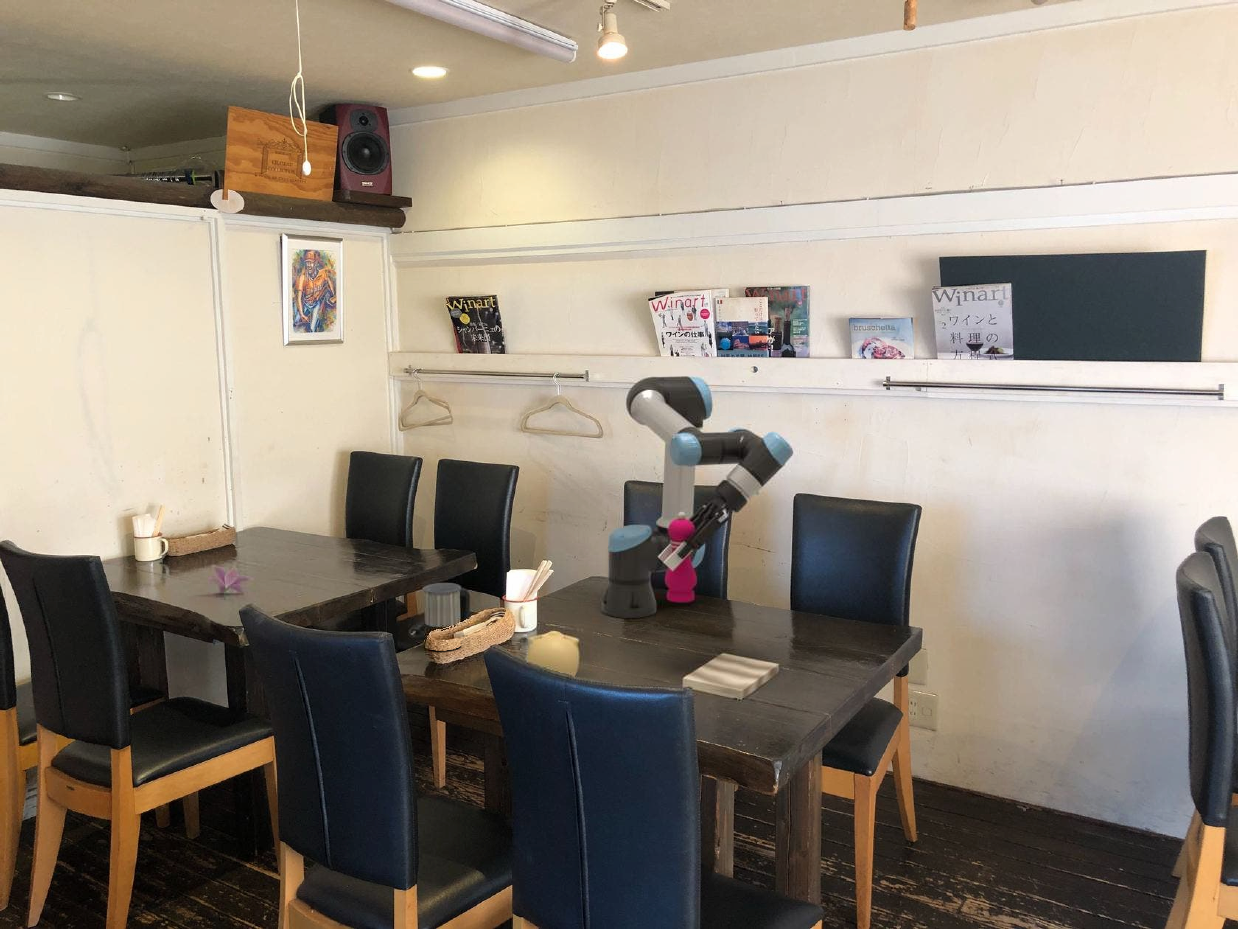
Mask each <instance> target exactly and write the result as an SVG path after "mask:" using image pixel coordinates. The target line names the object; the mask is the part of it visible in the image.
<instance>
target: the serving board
mask: <svg viewBox="0 0 1238 929" xmlns="http://www.w3.org/2000/svg"><path fill="white" fill-rule="evenodd" d="M779 666H780V664H779V663H775V662H774V663H773V662H769V661H764V660H759V659H755V658H750V657H744V656H739V655H735V654H729V653H725V652H724V653H721V654H719V655H718V656H716V657H715V658H713V659H712V660H709V661H708V662H707V663H705V664H703V665H702V666H700V667H699V668H697V669H695V670H694V671H692V672H691V673H688V674H687V675H685V676H684V677H683V678H682V688H685V687H688V686H689V687H692V689H691V690H695V691H699V692H704V693H707V694H712V695H717V696H721V697H725V698H730V699H734V698H737V699H736V700H739V699H740V701H743V700H744V699H745V698H747V697H748V696H750V695H751V694H753V693H754V692H755V691H756V690H757V689H759V688H760V687H762V685H764V684H766V683H767V682H768V681H769V680H771V679H772V678H774V677H775V676H776V675H778V674H779V672H780V671H779V668H780V667H779ZM743 698H744V699H743ZM742 699H743V700H742Z"/></svg>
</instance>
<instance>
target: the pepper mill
mask: <svg viewBox="0 0 1238 929" xmlns="http://www.w3.org/2000/svg"><path fill="white" fill-rule="evenodd" d="M685 517H686V515H685V513H684V512H680V513H679V514H678V518H679V519H676V520H673V521H672V522H671V523H670V525H669V528H668V533H669V536H670V537H671V538H672V540H670V542H671V544H670V546H671V547H672V553H673V552H674V551H675V550H676V549H677V548H678V547H679V546H680V545H681V544H682V543H683V542H685V541H684V539H689V538H690V536H691V535H692V534H693V533H694V531H695V528H694V525H693V523H692V522H691V521H689V520H687V519H685ZM685 543H686V542H685ZM686 544H687V543H686ZM665 572H666V573H665V576H664V583H665V585H666V587H667V588H668V590H667V591H666V599H667V600H668V601H669V602H673V603H690V602H693V601H694V600H695V591H694V590H693V589H694V587H695V586H696V585H697V581H698V580H697V577H698V576H697V574H696V571H695V568H693V565H692V563H691V558H690V554H689V555H688V556H687V557H686V558H685V559H684V560H683V561H682V562H681V563H680V564H679V565H678V566H677V567H676V568H675V569H674V570H673V571H672V570H671V569H670V568H668V570H667V571H665Z"/></svg>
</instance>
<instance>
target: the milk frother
mask: <svg viewBox="0 0 1238 929" xmlns="http://www.w3.org/2000/svg"><path fill="white" fill-rule="evenodd" d="M422 590H423V594H424V595H423V596H424V598H423V599H424V603H423V604H424V621H421V622H418V623H416V624H414V625H412V626H411V627H410V629H409V630H408V636H409V637H410V638H412V639H414V640H421V641H422V640H423V641H424V643H425V642H426V639H427V636H428V635H429V633H430V632H431V631H434V630H436V629H443V628H446V627H449V626H451V625H454V627H455V626H456V625H455V624H457V623H459V622H463V621H464V620H466V619H469V620H470V610H471V609H470V605H471V603H470V602H471V595H470V593H469V591H468V589H466V588H464V587H461V585H460V584H457V583H454V582H440V583H439V582H437V583H431V584H428V585H426V586H423V587H422ZM457 626H458V625H457ZM450 628H452V626H451V627H450ZM446 629H449V628H446ZM446 629H443V630H446ZM424 630H425V631H424ZM443 630H441V631H443ZM423 632H424V634H422V633H423Z"/></svg>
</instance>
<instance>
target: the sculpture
mask: <svg viewBox="0 0 1238 929" xmlns="http://www.w3.org/2000/svg"><path fill="white" fill-rule="evenodd" d="M528 642H529V647H528V649H527V654H526V655H527V656H526V663H527V662H531V663H533V664H537V665H539V666H541V667H546V668H547V669H550V670H554V671H558V672H560V673H566V674H569V675H572V676H574V677H575V676H576V674H577V672H578V670H579V663H580V651H579V647H578V644H579V642H580V640H579V639H578V638H577V637H573V636H569V635H566V634H565V635H564V633H561V632H560V631H556V630H551V631H549V632H547V633H543V634H538V635H536V636H531V637H529V638H528Z"/></svg>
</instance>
